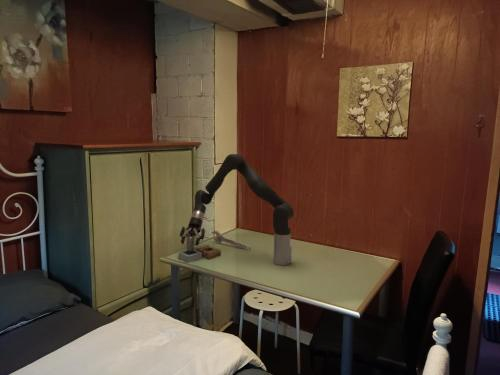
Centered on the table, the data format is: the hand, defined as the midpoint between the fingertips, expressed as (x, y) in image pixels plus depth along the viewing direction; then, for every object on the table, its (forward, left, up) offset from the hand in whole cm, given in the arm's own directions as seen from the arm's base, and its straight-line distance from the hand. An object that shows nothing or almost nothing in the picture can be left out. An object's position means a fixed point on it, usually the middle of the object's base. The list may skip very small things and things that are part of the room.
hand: (189, 244), depth 209 cm
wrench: (+1, -33, -9) cm, 35 cm away
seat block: (+1, -1, -9) cm, 9 cm away
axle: (+1, -1, -9) cm, 9 cm away
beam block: (-2, -12, -9) cm, 15 cm away
